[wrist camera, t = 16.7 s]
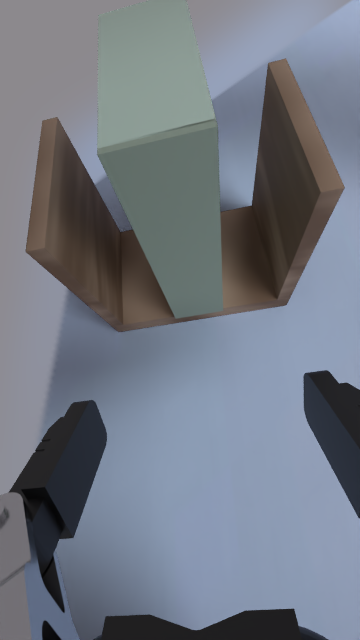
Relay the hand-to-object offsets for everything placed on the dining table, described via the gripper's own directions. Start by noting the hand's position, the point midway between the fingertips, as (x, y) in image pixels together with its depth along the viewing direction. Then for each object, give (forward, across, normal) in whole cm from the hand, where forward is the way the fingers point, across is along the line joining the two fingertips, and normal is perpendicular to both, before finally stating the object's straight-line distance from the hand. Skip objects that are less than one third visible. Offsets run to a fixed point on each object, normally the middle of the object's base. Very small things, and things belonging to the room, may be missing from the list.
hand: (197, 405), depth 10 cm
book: (+16, 0, -2) cm, 16 cm away
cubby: (+17, 0, -1) cm, 17 cm away
